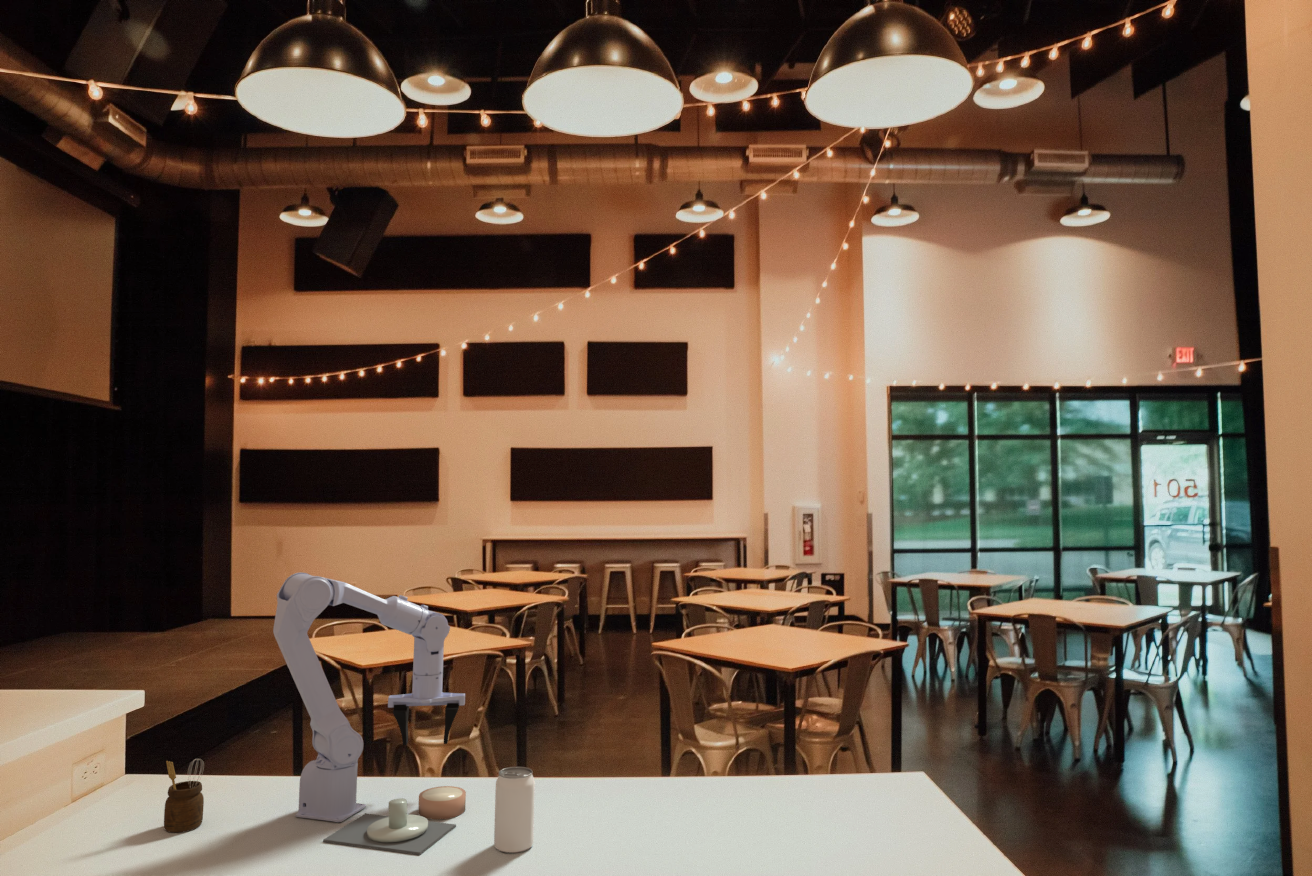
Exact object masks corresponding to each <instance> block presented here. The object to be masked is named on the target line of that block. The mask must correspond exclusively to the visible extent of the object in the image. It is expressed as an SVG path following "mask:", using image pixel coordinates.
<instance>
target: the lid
mask: <svg viewBox="0 0 1312 876" xmlns="http://www.w3.org/2000/svg"><path fill="white" fill-rule="evenodd" d="M388 816H389V817H387V818H383V819H381V820H378V821H376V822H374V823H372V824H371V825H370V826H369V827H368V828H367V837H368V838H369V839H371V840H373V841H377V842H398V841H404V840H408V839H411V838H414V837H417V836H419V835H421V834H423V833H424V832H425V831H426V830H427V829H428V821H429V819H426V818H425V817H422V816H420V815H419V814H418V815H416V814H408V799H407V798H403V797H402V798H395V799H391V800H389V802H388Z"/></svg>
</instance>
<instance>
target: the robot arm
mask: <svg viewBox="0 0 1312 876" xmlns="http://www.w3.org/2000/svg"><path fill="white" fill-rule="evenodd" d="M276 599H277V600H276V602H277V604H276V611H275V616H274V624H273V627H272V628H273V629H272V630H273V631H272V632H273V635H274V638H275V641H276V642H277V645H278V648H279V650H280V652H281V654H282V657H283V659H284V661H285V663H286V666H287V668H288V669H289V672H290V674H291V678H292V679H293V681H294V684H295V686H296V688H297V690H298V692H299V694H300V697H301V699H302V702H303V705H304V706H305V708H306V711H307V713H308V715H309V717H310V723H309V725H310V728H311V730H312V740H311V742H312V743H311V744H312V747H313V749H314V751H316V752H317V756H316V759H314V760H310V761H308V763H307V764H305V766H304V767H303V769H302V771H301V774H300V777H299V787H298V788H299V793H298V812H296V813H295V817H296V818H304V819H311V820H319V821H327V822H335V823H342V822H343V821H345V820H348V818H350V817H352V816H353V815H355V814H357V813H359V812H360V811H362V810H363V809H366V807H367V804H365V803H359V802H357V792H358V789H357V788H358V787H357V786H358V765H359V764H358V762H359V758H360V757H361V755H362V753H363V751H364V740H363V739H364V738H363V737H362V735H361V734H360V733H359V732H357V731H356V730H354V729H353V727H352V726H351V724H350V721H349V720H348V718H347V717H346V716H345V714H344V713H343V712H342V710H341V708H340V706H339V704H338V702H337V700H336V697H335V694H334V692H333V690H332V688H331V686H330V683H329V681H328V679H327V676H326V674H325V671H324V669H323V667H322V664H321V662H320V659H319V658H318V655H317V653H316V650H315V648H314V646H313V644H312V641H311V639H310V637H309V635H308V631H309V629H310V628H311V626H312V624H313V622H314V621H315V619H316V618H318V617H319V615H321V613H323V612H324V610H325V609H326V608H327V607H328V606H332V607H335V606H338V605H341V604H346V605H349V606H352V607H354V608H357V609H360V610H364V611H366V612H368V613H371V614H375V615H377V618H378V619H379V623H381V625H383V626H386V627H389V628H391V629H394V630H396V631H399V632H402V633H404V634H407V635H411V636H412V638H414V639H413V662H412V663H413V665H412V666H413V667H412V686H411V687H412V692H411V693H405V694H404V693H403V694H391V695H388V699H387V708H391V709H392V708H393V710H392V713H393V716H394V718H395V720H396V723H397V724H398V728H399V731H400V735H401V739H402V740H401V741H402V746H407V745H408V743H409V727H408V726H409V725H408V723H409V710H410V707H418V706H419V707H422V706H425V707H428V706H445V709H444V733H443V745H448V743H449V735H450V733H451V732H450V731H451V727H452V725H453V722H454V720H455V719H456V716H457V713H458V711H459V709H460V706H465V704H466V693H462V692H461V693H459V692H456V693H455V692H443V682H444V681H443V678H444V648H445V647H444V646H445V640H446V638H447V637H448V635H449V633H450V630H451V626H450V625H449V622H448V619H447V618H446V616H445V615H444V614H442V613H440V612H436V611H433V610H429V606H428V605H425V604H421V605H418V604H416V603H414V602H411V601H409V600H408V599H409V598H408V596H404V595H402V594H399V595H398V596H396V595H392V596H390V597H388V598H385V599H384V598H382V597H379V596H378V595H375V594H373V593H370V592H368V591H366V590H364V589H361V588H359V587H357V586H355V585H353V584H349V583H348V582H346V581H341V580H336V579H332V578H327V577H322V576H319V575H312V574H309V573H307V572H301V571H300V572H295V573H294V574H291V575H289V576H288V577H287V578H285V581H283V583H282V585H281V587H280V589H279V590H278V592H277V593H276Z"/></svg>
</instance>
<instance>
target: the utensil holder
mask: <svg viewBox="0 0 1312 876" xmlns="http://www.w3.org/2000/svg"><path fill="white" fill-rule="evenodd" d="M195 761H196V764H195V765H196V767H195V769H194V770H195V771H194V772H193V775H194V776H193V779H192V780H191V776H192V775H191V774H192V773H191V771H192V768H193V767H191V766H193V765H194V763H195ZM199 761H200V762H201V767H202V768H200V771H199V772H201V773H202V774H201V773H198V774H199V775H198V778H197V779H200V776H202V775H203V770H204V768H205V766H204V764H205V763H204V761H202V759H201V758H195V759H193V760H192V762H189V766H188V768H189V769H187V772H188V775H189V780H187V781H186V780H185V781H180V782H175V781H176V780H175V779H177V775H176V771H175V766H174V762H173V761H168V760H166V761H165V762H166V768H167V772H168V773H167V774H168V778H169V779H170V780H171V783H172V784H171V785H170V786H169V787H168V789H167V796H168V797H167V798H166V800H165V803H164V810H163V811H164V813H163V815H164V816H163V828H164V831H165V832H166V833H172V834H179V833H186V832H189V831H192V830H193V831H194V830H195V829H197V828H199V827H200V826H201V825H202V823H203V820H204V819H203V818H204V805H205V804H204V802H205V801H204V794H203V793H202V791H203V785H202V782H201V781H200V780H195V779H196V778H195V777H196V776H197V774H196V772H198V769H197V768H198V766H199V764H198V762H199Z"/></svg>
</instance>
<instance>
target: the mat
mask: <svg viewBox="0 0 1312 876" xmlns="http://www.w3.org/2000/svg"><path fill="white" fill-rule="evenodd" d="M387 817H389V815H384V814H383V815H381V814H374V813H364V814H361V815H360V816H359V817H357V818H356V819H354V820H353V821H351V822H350V823H347V824H346V825H344V826H343V827H341V828H339V829H338V830H337V831H334V832H333V833H332V834H330V835H328V836H327V837H325V838H324V839H323V840H322V842H323V843H329V844H336V845H342V846H343V845H344V846H351V847H356V848H366V849H374V850H380V851H387V852H396V853H402V854H403V853H404V854H411V855H418V856H420V855H422V854H424V853H425V852H426V851H427V850H428V849H430V848H431V847H432V846H434V845H435V844H436V843H437V842H439V841H440V840H442V838H444V837H445V836H446V835H447V834H449V833H450V832H451V831H452V830H454V829H455V828H456V827H457V824H456V823H455V824H454V823H447V822H440V821H439V822H437V821H432V820H431V821H430V820H428V829H427V830H426V831H425V832H424V833H423V834H421V835H419V836H417V837H414V838H411V839H408V840H404V841H398V842H377V841H373V840H371V839H369V838H368V837H367V828H368V827H369V826H370V825H371V824H372V823H374V822H376V821H378V820H381V819H383V818H387Z"/></svg>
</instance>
